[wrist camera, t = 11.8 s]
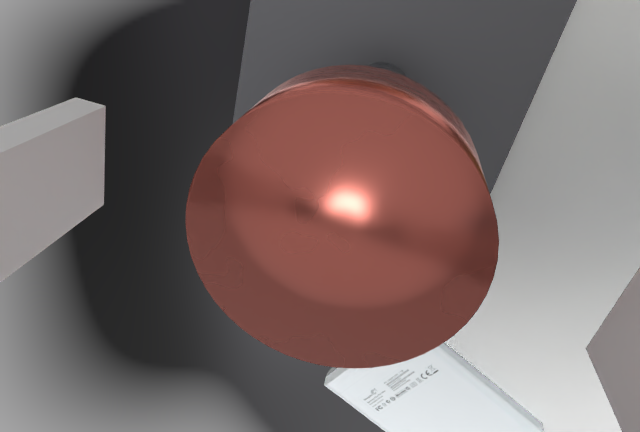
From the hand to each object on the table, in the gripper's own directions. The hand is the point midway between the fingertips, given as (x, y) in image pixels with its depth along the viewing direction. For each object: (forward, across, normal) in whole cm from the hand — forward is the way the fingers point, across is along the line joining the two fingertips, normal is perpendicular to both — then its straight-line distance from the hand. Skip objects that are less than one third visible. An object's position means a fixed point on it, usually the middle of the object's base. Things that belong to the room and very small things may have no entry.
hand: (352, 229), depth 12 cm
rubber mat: (+15, 0, 0) cm, 15 cm away
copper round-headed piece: (+14, 0, 0) cm, 14 cm away
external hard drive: (+16, -9, +19) cm, 26 cm away
